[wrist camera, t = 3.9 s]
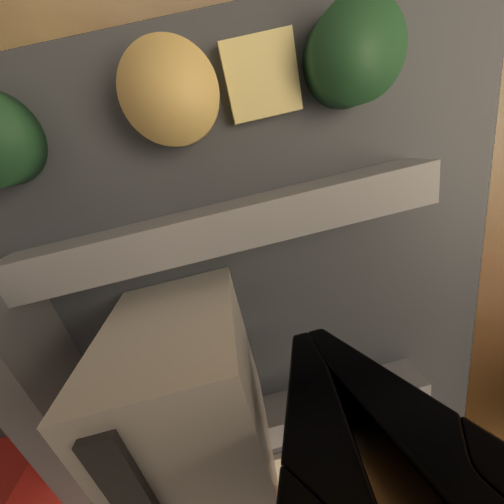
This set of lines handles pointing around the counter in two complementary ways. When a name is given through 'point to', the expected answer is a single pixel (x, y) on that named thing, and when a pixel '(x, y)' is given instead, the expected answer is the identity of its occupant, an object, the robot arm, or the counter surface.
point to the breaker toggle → (167, 402)
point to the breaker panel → (250, 187)
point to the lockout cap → (21, 479)
